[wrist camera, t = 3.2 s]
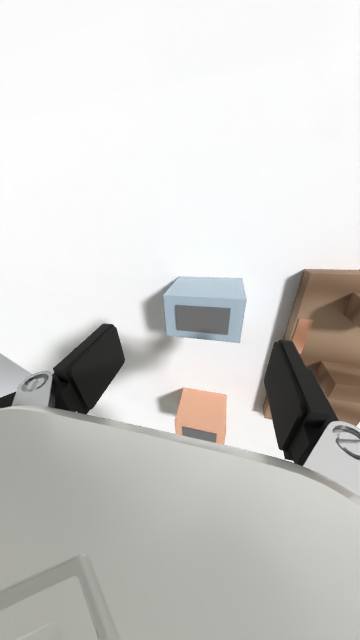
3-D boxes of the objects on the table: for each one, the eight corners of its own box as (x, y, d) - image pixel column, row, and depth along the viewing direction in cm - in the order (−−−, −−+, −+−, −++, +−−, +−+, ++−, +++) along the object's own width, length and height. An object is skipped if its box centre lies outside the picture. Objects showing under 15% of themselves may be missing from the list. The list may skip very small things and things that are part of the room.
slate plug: (237, 313, 20) (239, 344, 15) (180, 309, 21) (166, 336, 16) (242, 278, 18) (246, 300, 13) (178, 276, 19) (162, 295, 14)
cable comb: (343, 422, 24) (365, 461, 20) (262, 408, 26) (268, 440, 22) (449, 271, 14) (532, 291, 10) (304, 269, 16) (327, 285, 12)
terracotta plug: (224, 411, 28) (223, 450, 24) (184, 403, 30) (175, 439, 25) (226, 394, 26) (225, 433, 22) (183, 387, 28) (174, 422, 23)
